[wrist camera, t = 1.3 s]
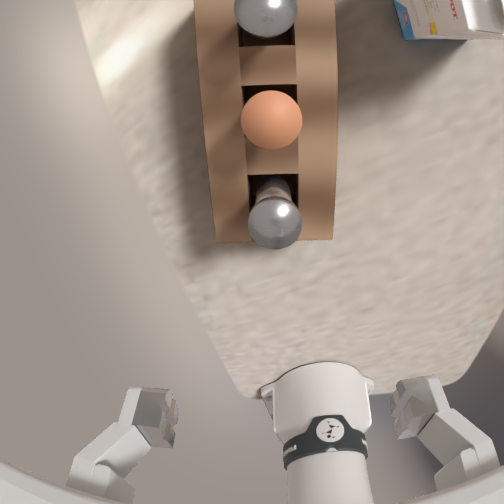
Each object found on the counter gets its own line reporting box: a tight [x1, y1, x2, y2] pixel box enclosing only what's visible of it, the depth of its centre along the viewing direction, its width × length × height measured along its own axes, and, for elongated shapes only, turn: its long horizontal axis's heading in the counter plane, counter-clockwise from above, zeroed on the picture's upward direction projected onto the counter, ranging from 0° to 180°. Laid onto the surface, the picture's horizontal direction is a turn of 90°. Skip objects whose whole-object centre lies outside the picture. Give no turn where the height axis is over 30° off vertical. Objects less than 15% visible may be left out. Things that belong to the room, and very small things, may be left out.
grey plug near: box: [234, 0, 298, 40], centre depth 17 cm, size 4×4×6 cm
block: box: [194, 0, 338, 243], centre depth 25 cm, size 22×10×6 cm, turn 3°
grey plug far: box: [248, 175, 302, 249], centre depth 24 cm, size 4×4×6 cm
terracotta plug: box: [241, 90, 302, 149], centre depth 21 cm, size 4×4×6 cm
